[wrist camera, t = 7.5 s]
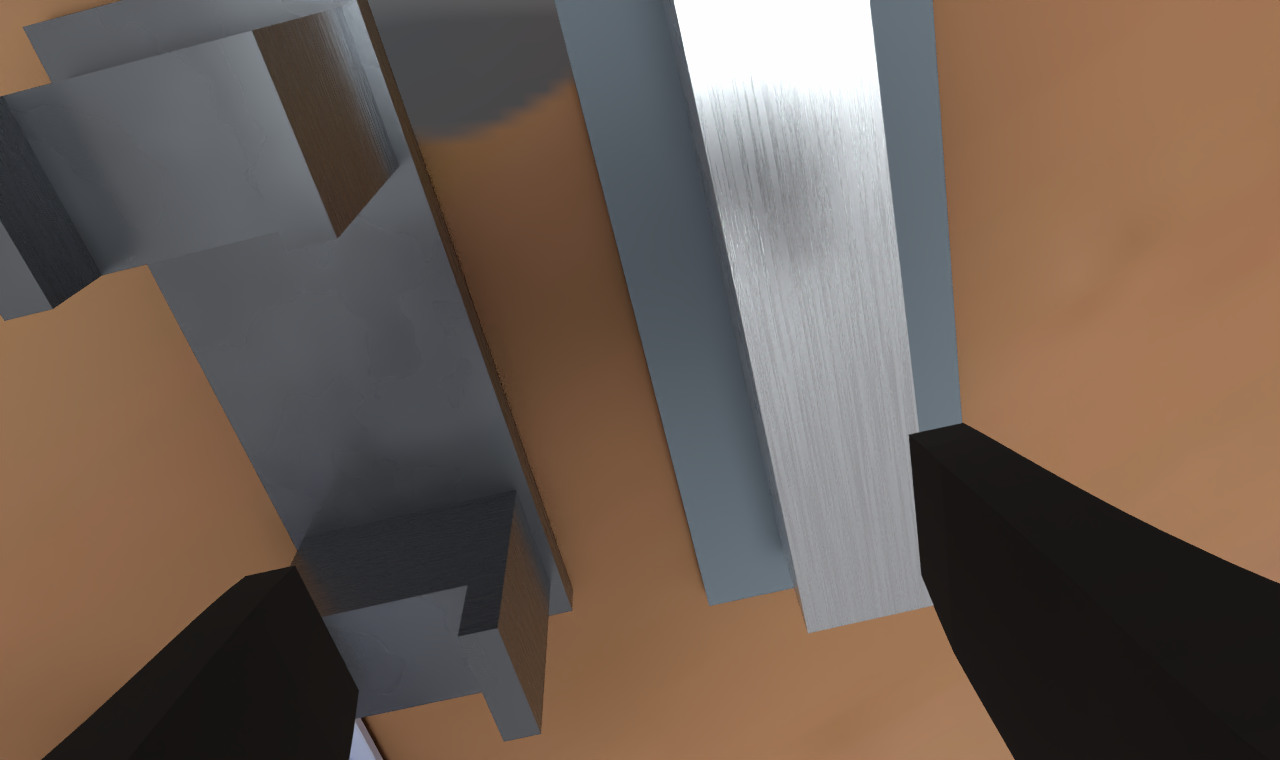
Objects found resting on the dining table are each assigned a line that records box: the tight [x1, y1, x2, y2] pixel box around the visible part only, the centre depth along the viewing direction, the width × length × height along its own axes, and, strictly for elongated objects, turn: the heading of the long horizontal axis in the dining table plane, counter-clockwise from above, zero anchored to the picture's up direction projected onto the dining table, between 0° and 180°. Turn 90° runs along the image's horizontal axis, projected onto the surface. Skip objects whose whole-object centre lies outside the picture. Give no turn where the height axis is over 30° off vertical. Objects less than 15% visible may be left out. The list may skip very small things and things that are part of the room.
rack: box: [0, 0, 573, 741], centre depth 17 cm, size 16×6×6 cm, turn 13°
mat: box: [554, 0, 962, 606], centre depth 19 cm, size 18×7×1 cm, turn 13°
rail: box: [663, 0, 933, 633], centre depth 17 cm, size 16×3×3 cm
